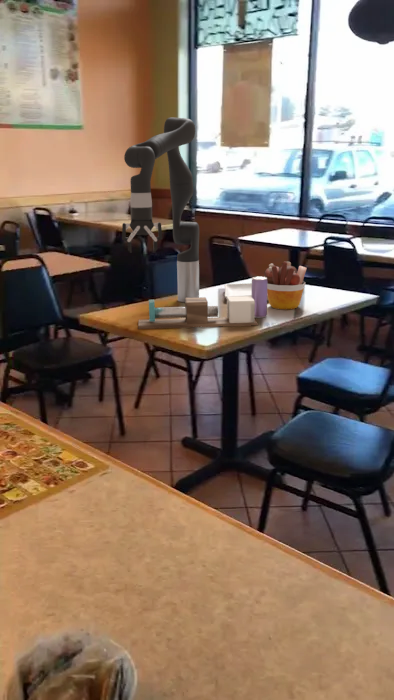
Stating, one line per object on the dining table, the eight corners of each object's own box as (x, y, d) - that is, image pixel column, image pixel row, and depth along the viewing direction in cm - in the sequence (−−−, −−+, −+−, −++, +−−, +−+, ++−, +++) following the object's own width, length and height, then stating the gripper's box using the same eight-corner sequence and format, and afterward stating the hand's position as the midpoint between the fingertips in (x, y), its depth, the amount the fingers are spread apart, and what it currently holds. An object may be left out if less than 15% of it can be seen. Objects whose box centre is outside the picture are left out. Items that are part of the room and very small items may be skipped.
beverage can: (265, 318, 241) (266, 279, 237) (250, 317, 242) (250, 278, 238) (267, 315, 247) (268, 276, 242) (252, 314, 248) (252, 276, 244)
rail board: (138, 322, 237) (137, 298, 235) (252, 319, 240) (253, 295, 238) (138, 328, 228) (137, 304, 225) (257, 325, 231) (257, 301, 228)
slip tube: (149, 321, 230) (148, 302, 228) (149, 318, 235) (148, 299, 233) (218, 319, 232) (218, 300, 230) (216, 316, 236) (216, 297, 234)
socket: (226, 317, 239) (226, 296, 237) (250, 317, 239) (250, 296, 237) (229, 323, 231) (229, 301, 228) (254, 322, 231) (254, 300, 229)
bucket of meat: (266, 301, 271) (267, 254, 265) (305, 302, 267) (307, 255, 262) (261, 311, 252) (262, 261, 246) (303, 313, 249) (305, 262, 243)
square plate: (224, 291, 295) (224, 283, 294) (283, 291, 294) (283, 283, 293) (224, 303, 269) (224, 294, 268) (289, 303, 268) (289, 294, 267)
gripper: (160, 205, 228) (161, 250, 233) (121, 205, 227) (122, 251, 232) (161, 206, 221) (162, 253, 226) (120, 206, 220) (122, 253, 224)
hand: (142, 252), depth 229 cm, fingers open, 8 cm apart
